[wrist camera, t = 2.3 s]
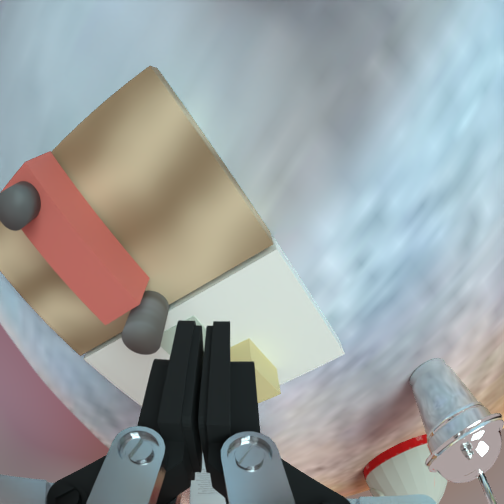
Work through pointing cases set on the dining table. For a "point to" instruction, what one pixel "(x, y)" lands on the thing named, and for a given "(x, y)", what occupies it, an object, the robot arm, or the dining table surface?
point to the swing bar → (72, 238)
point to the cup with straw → (456, 426)
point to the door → (239, 327)
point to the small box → (204, 489)
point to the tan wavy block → (142, 214)
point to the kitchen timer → (404, 472)
